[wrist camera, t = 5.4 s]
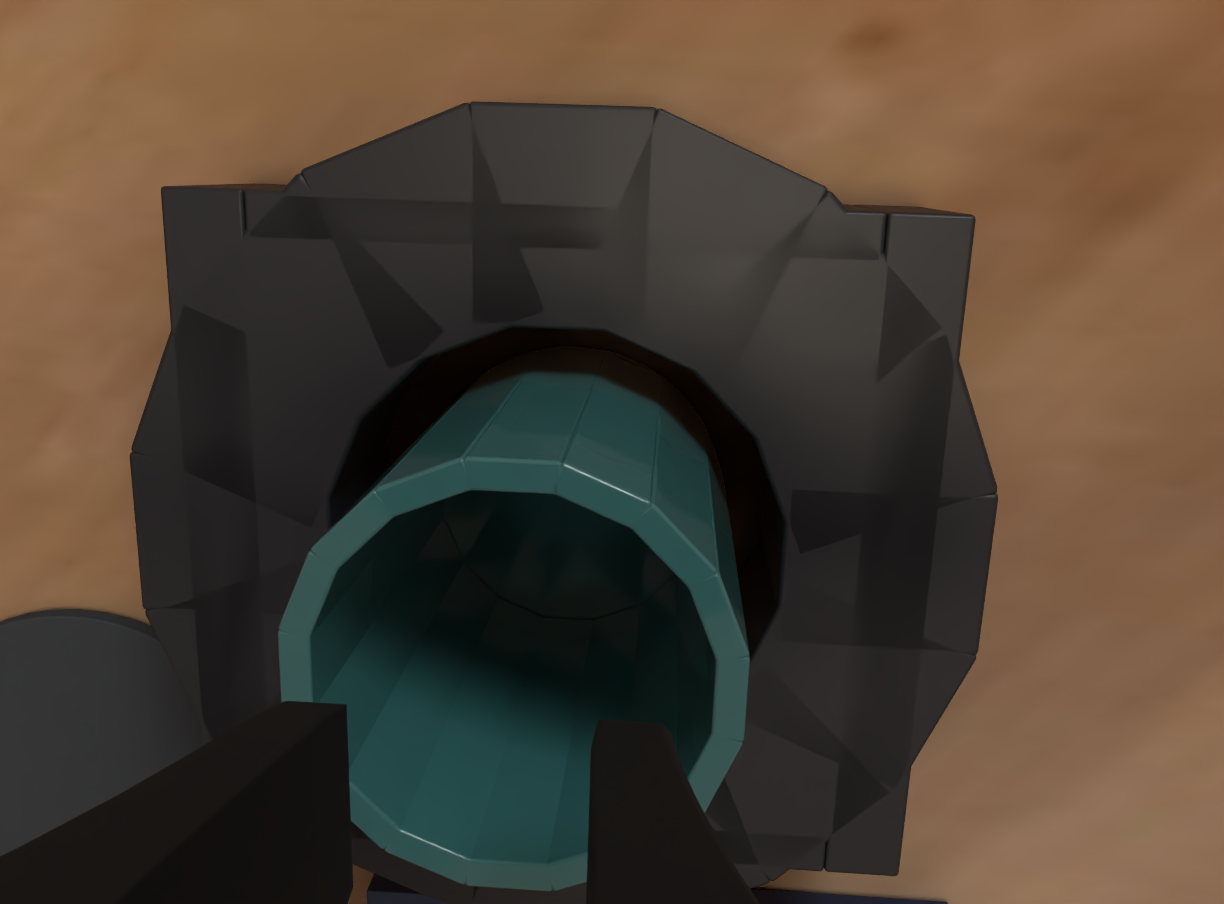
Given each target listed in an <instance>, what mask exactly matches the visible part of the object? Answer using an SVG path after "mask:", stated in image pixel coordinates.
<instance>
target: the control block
mask: <svg viewBox="0 0 1224 904" xmlns="http://www.w3.org/2000/svg"><path fill="white" fill-rule="evenodd" d="M750 890H751V891H752V893H753V894H754V896H755V897H756V898H757V900H758V901H759V903H760V904H948V903H947V902H939V901H924V900H909V899H894V898H879V897H864V896H849V895H835V894H820V893H805V892H790V891H775V890H760V889H750ZM367 904H445V903H443V902H441V901H438V900H436V899H433V898H431V897H429V896H426V895H424V894H422V893H419V892H417V891H415V890H412V889H410V888H408V887H405V886H403V885H401V884H398V883H396V882H394V881H391V880H389V879H387V878H384V877H382V876H379V875H377V874H375V873H374V876H373V878H372V880H371V883H370V885H369V887H368V890H367Z"/></svg>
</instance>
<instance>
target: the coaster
mask: <svg viewBox="0 0 1224 904" xmlns="http://www.w3.org/2000/svg"><path fill="white" fill-rule="evenodd" d="M200 747H202V736H201V722H200V720H199V718H198V716H197V714H196V712H195V710H194V708H193V706H192V704H191V702H190V700H189V698H188V696H187V694H186V692H185V690H184V688H183V686H182V684H181V682H180V680H179V678H178V676H177V675H176V673H175V671H174V669H173V667H172V665H171V663H170V661H169V659H168V657H167V655H166V653H165V651H164V649H163V647H162V645H161V643H160V641H159V639H158V637H157V635H156V633H155V631H154V629H153V627H152V626H149V625H146V624H144V623H141V622H138V621H136V620H133V619H130V618H126V617H122V616H118V615H114V614H110V613H105V612H98V611H89V610H81V609H65V610H47V611H40V612H32V613H27V614H24V615H20V616H17V617H13V618H10V619H6V620H4V621H2V622H0V856H2V855H4V854H6V853H8V852H10V851H12V850H14V849H17V848H19V847H20V846H22V845H24V844H26V843H28V842H30V841H32V840H34V839H36V838H37V837H39V836H41V835H43V834H45V833H47V832H49V831H51V830H53V829H54V828H56V827H58V826H60V825H62V824H64V823H66V822H68V821H70V820H71V819H73V818H75V817H77V816H79V815H81V814H83V813H85V812H87V811H88V810H90V809H92V808H94V807H96V806H98V805H100V804H102V803H104V802H105V801H107V800H109V799H111V798H113V797H115V796H117V795H119V794H120V793H122V792H124V791H126V790H128V789H129V788H131V787H133V786H134V785H136V784H138V783H140V782H141V781H143V780H145V779H147V778H148V777H150V776H152V775H153V774H155V773H157V772H159V771H160V770H162V769H164V768H166V767H167V766H169V765H171V764H172V763H174V762H176V761H178V760H179V759H181V758H183V757H185V756H186V755H188V754H190V753H191V752H193V751H195V750H197V749H198V748H200Z"/></svg>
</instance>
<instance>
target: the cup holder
mask: <svg viewBox="0 0 1224 904" xmlns="http://www.w3.org/2000/svg"><path fill="white" fill-rule="evenodd" d="M301 172H302V173H300V174H298V175H296V176H295V177H294V178H293V179H292V180H291V181H290V182H289V183H288V184H287V185H276V184H225V185H192V186H164V187H162V188H161V198H162V211H163V225H164V238H165V252H166V265H167V278H168V292H169V305H170V319H171V332H170V335H169V338H168V341H167V344H166V347H165V350H164V353H163V356H162V359H161V362H160V364H159V367H158V370H157V373H156V376H155V379H154V382H153V385H152V388H151V391H150V394H149V397H148V400H147V403H146V406H145V409H144V412H143V415H142V418H141V421H140V424H139V427H138V430H137V433H136V435H135V438H134V441H133V444H132V451H133V452H131V454H130V465H131V476H132V488H133V499H134V511H135V522H136V534H137V545H138V556H139V568H140V579H141V591H142V602H143V608H144V609H146V611H145V612H146V616H147V618H148V620H149V622H150V624H151V626H152V627H153V629H154V631H155V633H156V635H157V637H158V639H159V641H160V643H161V645H162V647H163V649H164V651H165V653H166V655H167V657H168V659H169V661H170V663H171V665H172V667H173V669H174V671H175V673H176V675H177V676H178V678H179V680H180V682H181V684H182V686H183V688H184V690H185V692H186V694H187V696H188V698H189V700H190V702H191V704H192V706H193V708H194V710H195V712H196V714H197V716H198V718H199V720H200V722H201V736H202V746H203V745H205V744H207V743H208V742H210V741H212V740H214V739H215V738H217V737H219V736H220V735H222V734H224V733H226V732H227V731H229V730H231V729H232V728H234V727H236V726H238V725H239V724H241V723H243V722H245V721H246V720H248V719H250V718H252V717H254V716H255V715H257V714H259V713H261V712H263V711H265V710H267V709H269V708H271V707H273V706H275V705H277V704H279V703H281V688H280V668H279V649H278V631H279V624H280V621H281V619H282V616H283V614H284V611H285V609H286V606H287V604H288V601H289V599H290V596H291V594H292V591H293V589H294V586H295V584H296V581H297V579H298V576H299V574H300V571H301V569H302V566H303V564H304V561H305V559H306V556H307V554H308V552H309V551H310V550H311V548H312V546H313V545H314V544H315V543H316V542H317V541H318V540H319V539H320V538H321V537H322V536H323V535H324V534H325V533H326V532H327V531H328V530H329V529H330V528H331V527H332V526H333V525H334V524H335V523H336V522H337V521H338V520H339V518H340V517H341V516H342V515H343V514H344V513H345V512H346V511H347V510H348V509H349V508H350V507H351V506H352V505H353V504H354V503H355V502H356V501H357V500H358V499H359V498H360V497H361V496H362V495H363V494H364V493H365V492H366V491H367V490H368V489H369V488H370V487H371V486H372V485H373V484H374V483H375V482H376V481H377V480H378V478H379V477H380V476H381V475H382V474H383V473H384V472H385V471H386V470H387V459H386V446H387V443H388V441H389V438H390V436H391V434H392V431H393V429H394V426H395V424H396V421H397V419H398V416H399V414H400V412H401V409H402V407H403V404H404V402H405V399H406V397H407V394H408V392H409V389H410V387H411V385H412V382H413V380H414V379H415V378H416V377H417V376H418V375H419V374H420V373H421V372H422V371H423V370H424V369H425V368H426V367H427V366H428V365H430V364H431V363H432V362H433V361H434V360H435V359H436V358H437V357H438V356H439V355H440V354H441V353H444V352H446V351H449V350H452V349H454V348H457V347H460V346H463V345H465V344H468V343H471V342H473V341H476V340H479V339H481V338H484V337H487V336H489V335H492V334H495V333H497V332H500V331H503V330H505V329H508V328H511V327H514V328H538V329H563V330H587V331H606V332H608V333H610V334H612V335H615V336H617V337H619V338H621V339H623V340H625V341H628V342H630V343H632V344H634V345H636V346H638V347H641V348H643V349H645V350H647V351H649V352H651V353H654V354H656V355H658V356H660V357H662V358H664V359H667V360H669V361H671V362H673V363H675V364H677V365H680V366H682V367H684V368H686V369H688V370H691V371H692V372H693V373H694V374H695V375H696V376H697V377H698V378H699V379H700V381H701V382H702V383H703V384H704V385H705V386H706V387H707V388H708V389H709V390H710V391H711V392H712V394H713V395H714V396H715V397H716V398H717V399H718V400H719V401H720V402H721V403H722V404H723V405H724V407H725V408H726V409H727V410H728V411H729V412H730V413H731V414H732V415H733V416H734V417H735V418H736V420H737V421H738V422H739V423H740V424H741V425H742V426H743V427H744V428H745V429H746V430H747V431H748V433H749V434H750V435H751V436H752V437H753V438H754V440H755V443H756V445H757V448H758V451H759V454H760V457H761V460H762V462H763V465H764V468H765V471H766V479H765V493H764V506H763V520H762V534H761V539H760V540H759V542H758V544H757V546H756V548H755V550H754V552H753V554H752V556H751V558H750V560H749V561H748V563H747V565H746V567H745V569H744V571H743V573H742V575H741V577H740V579H739V587H740V594H741V601H742V607H743V614H744V621H745V628H746V635H747V642H748V648H749V655H750V668H749V682H748V696H747V710H746V724H745V738H744V740H743V743H742V746H741V748H740V750H739V752H738V754H737V755H736V757H735V759H734V761H733V763H732V765H731V766H730V768H729V770H728V772H727V774H726V775H725V777H724V779H723V781H722V783H721V784H720V786H719V788H718V790H717V792H716V794H715V795H714V797H713V799H712V801H711V803H710V804H709V806H708V808H707V810H706V812H705V815H706V817H707V819H708V821H709V822H710V824H711V826H712V828H713V829H714V831H715V833H716V835H717V836H718V838H719V840H720V842H721V843H722V845H723V847H724V849H725V850H726V852H727V854H728V856H729V857H730V859H731V860H732V862H733V864H734V865H735V867H736V868H737V870H738V872H739V873H740V875H741V876H742V878H743V879H744V881H745V882H746V884H747V885H748V887H749V888H754V887H758V886H761V885H765V884H767V883H769V881H770V880H771V881H774V880H776V879H777V878H778V877H780V876H781V875H782V874H784V873H785V872H786V871H788V870H789V869H797V870H812V871H822V870H823V868H824V869H825V870H826V871H828V872H842V873H857V874H872V875H887V876H897V875H898V872H899V865H900V856H901V848H902V839H903V831H904V822H905V814H906V805H907V797H908V788H909V780H910V771H911V765H912V764H913V762H914V760H915V759H916V757H917V756H918V754H919V752H920V751H921V749H922V747H923V746H924V744H925V742H926V741H927V739H928V737H929V736H930V734H931V732H932V731H933V729H934V727H935V726H936V724H937V723H938V721H939V719H940V718H941V716H942V714H943V713H944V711H945V709H946V708H947V706H948V704H949V703H950V701H951V699H952V698H953V696H954V694H955V693H956V691H957V690H958V688H959V686H960V685H961V683H962V681H963V680H964V678H965V676H966V675H967V673H968V671H969V670H970V668H971V666H972V665H973V663H974V661H975V660H976V654H977V652H978V647H979V639H980V632H981V624H982V617H983V609H984V601H985V594H986V586H987V579H988V571H989V564H990V556H991V548H992V541H993V533H994V526H995V518H996V511H997V503H998V496H997V494H996V492H997V485H996V482H995V478H994V475H993V472H992V468H991V465H990V462H989V458H988V455H987V452H986V449H985V445H984V442H983V439H982V435H981V432H980V429H979V425H978V422H977V419H976V415H975V412H974V409H973V405H972V402H971V399H970V396H969V392H968V389H967V386H966V382H965V379H964V376H963V372H962V369H961V366H960V362H959V356H960V347H961V339H962V330H963V322H964V313H965V305H966V296H967V288H968V279H969V271H970V262H971V254H972V245H973V237H974V228H975V216H973V215H970V214H963V213H956V212H950V211H943V210H936V209H930V208H923V207H904V206H876V205H853V206H852V205H847V204H842V203H841V202H840V201H839V200H838V199H837V197H836V196H835V195H834V194H833V193H832V192H830V191H827V188H826V187H825V186H823V185H821V184H819V183H817V182H814V181H812V180H810V179H808V178H806V177H804V176H802V175H800V174H798V173H795V172H793V171H791V170H789V169H787V168H785V167H783V166H781V165H779V164H776V163H774V162H772V161H770V160H768V159H766V158H764V157H762V156H760V155H757V154H755V153H753V152H751V151H749V150H747V149H745V148H743V147H741V146H738V145H736V144H734V143H732V142H730V141H728V140H726V139H724V138H722V137H719V136H717V135H715V134H713V133H711V132H709V131H707V130H705V129H703V128H700V127H698V126H696V125H694V124H692V123H690V122H688V121H686V120H684V119H682V118H679V117H677V116H675V115H673V114H671V113H669V112H667V111H665V110H663V109H657V110H656V108H654V107H635V106H602V105H570V104H537V103H505V102H471V103H470V104H469V103H463V104H461V105H458V106H456V107H453V108H451V109H449V110H446V111H444V112H441V113H439V114H436V115H434V116H431V117H429V118H427V119H424V120H422V121H419V122H417V123H414V124H412V125H409V126H407V127H405V128H402V129H400V130H397V131H395V132H392V133H390V134H387V135H385V136H383V137H380V138H378V139H375V140H373V141H370V142H368V143H365V144H363V145H360V146H358V147H356V148H353V149H351V150H348V151H346V152H343V153H341V154H338V155H336V156H334V157H331V158H329V159H326V160H324V161H321V162H319V163H316V164H314V165H312V166H309V167H307V168H304V169H303V170H302V171H301ZM351 841H352V864H354V865H356V866H358V867H361V868H363V869H365V870H368V871H370V872H372V873H375V874H377V875H379V876H382V877H384V878H387V879H389V880H391V881H394V882H396V883H398V884H401V885H403V886H405V887H408V888H410V889H412V890H415V891H417V892H419V893H422V894H424V895H426V896H429V897H431V898H433V899H436V900H438V901H441V902H443V903H445V904H586V890H587V882H584V883H581V884H577V885H574V886H570V887H567V888H564V889H560V890H557V891H554V890H553V889H552V890H551V891H536V890H521V889H506V888H492V887H477V886H468V885H466V883H465V884H460V883H457V882H455V881H453V880H450V879H448V878H446V877H443V876H441V875H439V874H436V873H434V872H432V871H429V870H427V869H425V868H422V867H420V866H418V865H415V864H413V863H411V862H408V861H406V860H404V859H401V858H399V857H397V856H394V855H392V854H390V853H387V852H386V851H385V849H381V848H380V847H379V846H378V845H377V844H376V843H375V842H373V841H372V840H371V839H370V838H369V837H368V836H367V835H366V834H365V833H364V832H363V831H362V830H361V829H359V828H358V827H357V826H356V825H355V824H354V823H353V822H352V821H351Z"/></svg>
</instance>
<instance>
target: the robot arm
mask: <svg viewBox="0 0 1224 904" xmlns="http://www.w3.org/2000/svg"><path fill="white" fill-rule="evenodd" d="M352 888H353V870H352V841H351V813H350V784H349V755H348V727H347V704H333V703H316V702H299V701H284V702H282V703H279V704H277V705H275V706H273V707H271V708H269V709H267V710H265V711H263V712H261V713H259V714H257V715H255V716H254V717H252V718H250V719H248V720H246V721H245V722H243V723H241V724H239V725H238V726H236V727H234V728H232V729H231V730H229V731H227V732H226V733H224V734H222V735H220V736H219V737H217V738H215V739H214V740H212V741H210V742H208V743H207V744H205V745H203V746H202V747H200V748H198V749H197V750H195V751H193V752H191V753H190V754H188V755H186V756H185V757H183V758H181V759H179V760H178V761H176V762H174V763H172V764H171V765H169V766H167V767H166V768H164V769H162V770H160V771H159V772H157V773H155V774H153V775H152V776H150V777H148V778H147V779H145V780H143V781H141V782H140V783H138V784H136V785H134V786H133V787H131V788H129V789H128V790H126V791H124V792H122V793H120V794H119V795H117V796H115V797H113V798H111V799H109V800H107V801H105V802H104V803H102V804H100V805H98V806H96V807H94V808H92V809H90V810H88V811H87V812H85V813H83V814H81V815H79V816H77V817H75V818H73V819H71V820H70V821H68V822H66V823H64V824H62V825H60V826H58V827H56V828H54V829H53V830H51V831H49V832H47V833H45V834H43V835H41V836H39V837H37V838H36V839H34V840H32V841H30V842H28V843H26V844H24V845H22V846H20V847H19V848H17V849H14V850H12V851H10V852H8V853H6V854H4V855H2V856H0V904H348V901H349V898H350V894H351V891H352ZM586 904H760V903H759V901H758V900H757V898H756V897H755V896H754V894H753V893H752V891H751V890H750V888H749V887H748V885H747V884H746V882H745V881H744V879H743V878H742V876H741V875H740V873H739V872H738V870H737V868H736V867H735V865H734V864H733V862H732V860H731V859H730V857H729V856H728V854H727V852H726V850H725V849H724V847H723V845H722V843H721V842H720V840H719V838H718V836H717V835H716V833H715V831H714V829H713V828H712V826H711V824H710V822H709V821H708V819H707V817H706V815H705V813H704V811H703V809H702V808H701V806H700V804H699V802H698V800H697V798H696V796H695V794H694V791H693V789H692V787H691V785H690V783H689V781H688V778H687V776H686V774H685V772H684V769H683V767H682V764H681V762H680V759H679V756H678V754H677V750H676V747H675V744H674V740H673V735H672V734H671V733H670V732H669V730H668V729H667V728H666V727H665V726H664V725H663V724H662V723H652V722H635V721H618V720H601V719H598V723H597V726H596V730H595V733H594V738H593V742H592V747H591V760H590V792H589V825H588V858H587V890H586Z"/></svg>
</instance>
